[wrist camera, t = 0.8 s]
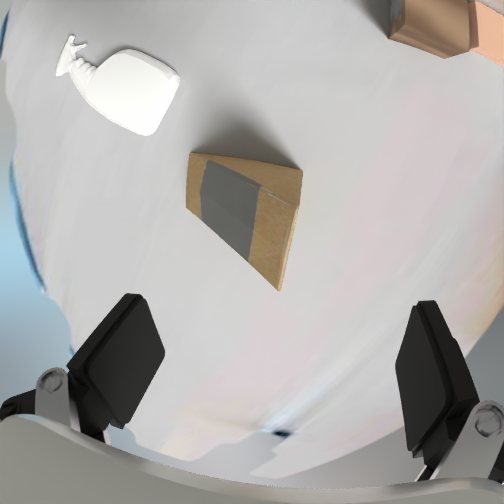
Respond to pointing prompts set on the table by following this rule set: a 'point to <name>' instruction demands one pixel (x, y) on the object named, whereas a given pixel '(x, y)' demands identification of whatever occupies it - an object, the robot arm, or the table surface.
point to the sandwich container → (247, 207)
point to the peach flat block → (486, 32)
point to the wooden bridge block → (431, 25)
